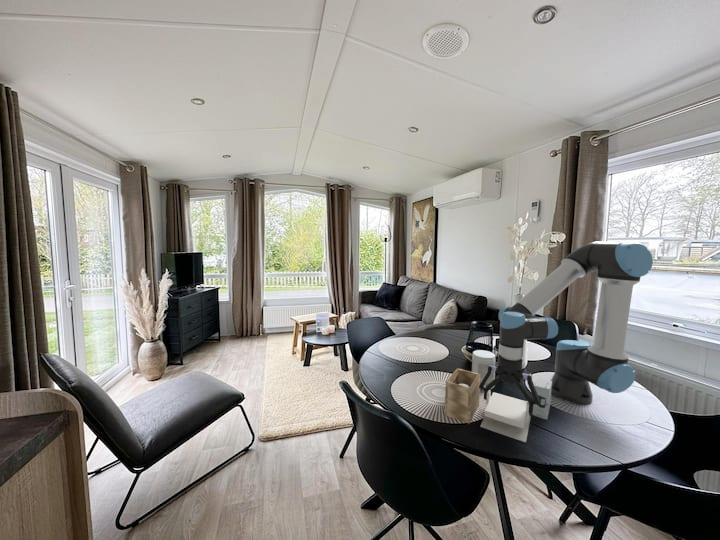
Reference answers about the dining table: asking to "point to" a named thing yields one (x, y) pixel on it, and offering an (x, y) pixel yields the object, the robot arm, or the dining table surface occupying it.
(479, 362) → the supplement tub
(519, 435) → the mat
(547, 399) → the ink box
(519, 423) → the lid
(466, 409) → the box
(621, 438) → the dining table surface
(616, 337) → the robot arm
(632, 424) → the dining table surface
